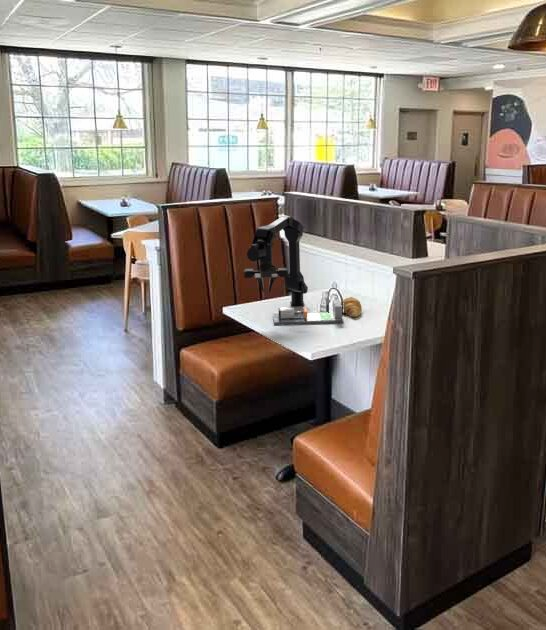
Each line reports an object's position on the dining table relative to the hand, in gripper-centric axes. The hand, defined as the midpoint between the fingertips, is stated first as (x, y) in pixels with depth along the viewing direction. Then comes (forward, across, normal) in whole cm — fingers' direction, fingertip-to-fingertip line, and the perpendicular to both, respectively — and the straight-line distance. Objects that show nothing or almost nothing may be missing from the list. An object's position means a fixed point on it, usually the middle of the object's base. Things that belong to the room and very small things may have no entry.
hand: (266, 292), depth 273 cm
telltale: (+11, +17, 0) cm, 20 cm away
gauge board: (+13, +18, 0) cm, 22 cm away
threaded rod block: (+11, +11, 0) cm, 16 cm away
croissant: (+14, +38, +10) cm, 42 cm away
